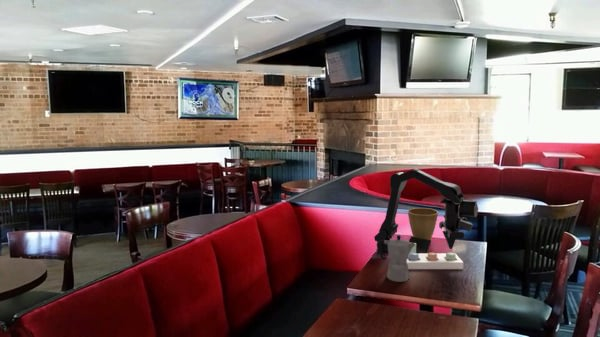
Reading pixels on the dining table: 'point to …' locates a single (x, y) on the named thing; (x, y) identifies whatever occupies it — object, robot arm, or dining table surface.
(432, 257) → the terracotta button
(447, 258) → the sage green button
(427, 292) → the dining table surface
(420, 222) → the plant pot
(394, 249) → the coffeepot
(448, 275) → the dining table surface
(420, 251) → the handheld gaming console
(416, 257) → the slate blue button
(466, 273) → the dining table surface
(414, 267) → the button panel
